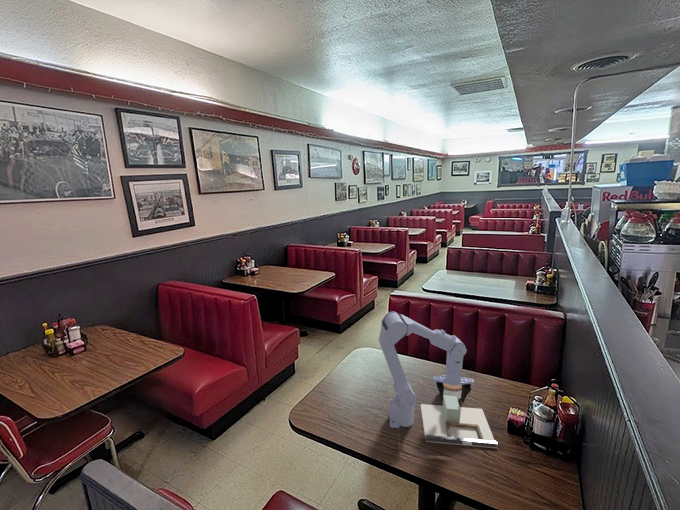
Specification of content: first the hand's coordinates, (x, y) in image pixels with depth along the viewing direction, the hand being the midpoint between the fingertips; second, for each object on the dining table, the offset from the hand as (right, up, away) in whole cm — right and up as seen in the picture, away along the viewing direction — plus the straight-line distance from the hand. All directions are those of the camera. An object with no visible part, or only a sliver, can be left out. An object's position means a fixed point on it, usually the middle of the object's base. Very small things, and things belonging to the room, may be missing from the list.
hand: (452, 400), depth 128 cm
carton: (0, -7, +2) cm, 7 cm away
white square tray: (0, -9, -3) cm, 9 cm away
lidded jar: (+4, -5, +14) cm, 15 cm away
